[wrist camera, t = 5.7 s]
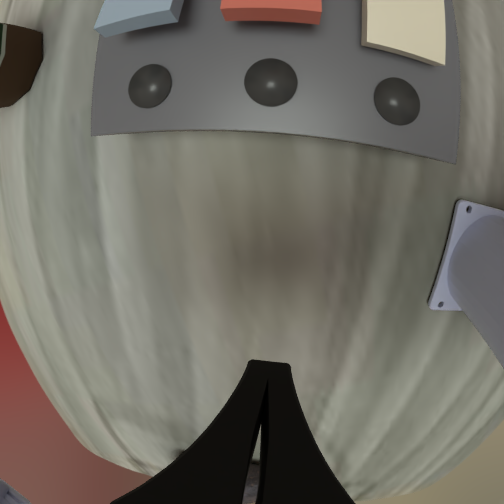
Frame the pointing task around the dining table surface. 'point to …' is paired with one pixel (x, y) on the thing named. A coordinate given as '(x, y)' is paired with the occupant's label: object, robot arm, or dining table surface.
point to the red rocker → (272, 10)
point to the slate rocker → (136, 15)
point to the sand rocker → (406, 28)
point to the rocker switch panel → (277, 81)
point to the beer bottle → (18, 61)
